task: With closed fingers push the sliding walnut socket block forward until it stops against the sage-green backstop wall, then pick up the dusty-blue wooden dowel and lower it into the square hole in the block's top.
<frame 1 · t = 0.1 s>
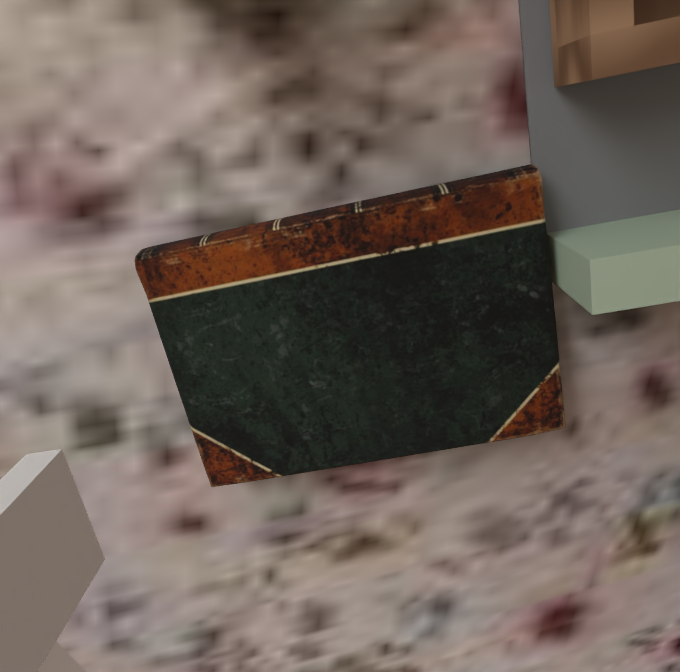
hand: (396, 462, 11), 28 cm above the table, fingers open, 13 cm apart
book: (357, 327, 41), on the table
runner mat: (638, 46, 33), on the table
backstop wall: (641, 238, 37), on the table
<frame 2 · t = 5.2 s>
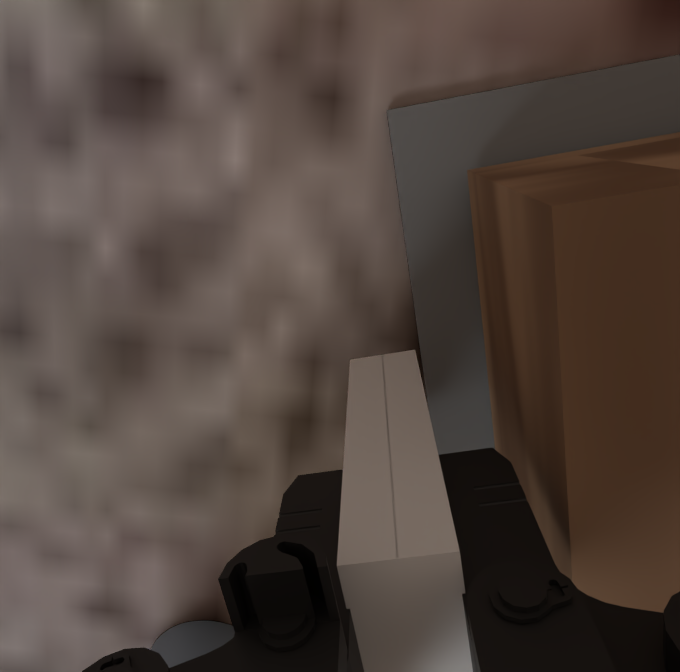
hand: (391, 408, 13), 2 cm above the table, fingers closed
dowel: (210, 668, 19), on the table
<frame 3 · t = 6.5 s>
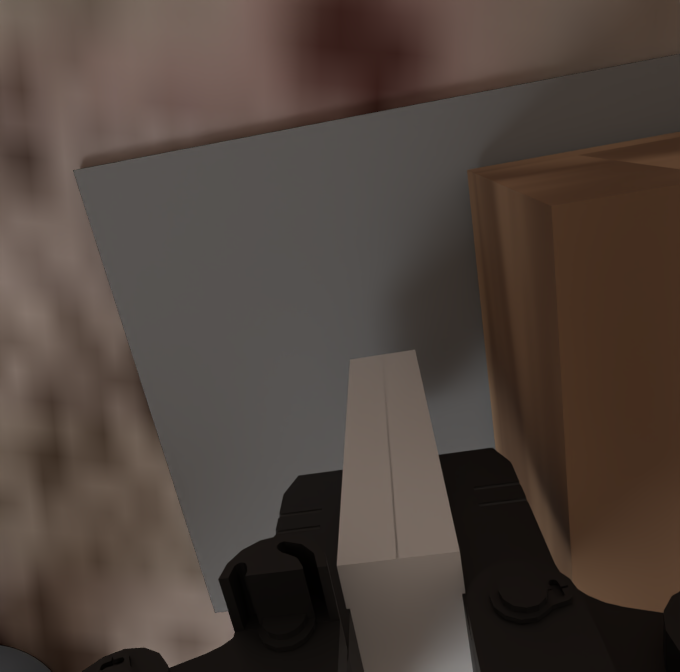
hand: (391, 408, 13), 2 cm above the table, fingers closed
runner mat: (526, 363, 15), on the table
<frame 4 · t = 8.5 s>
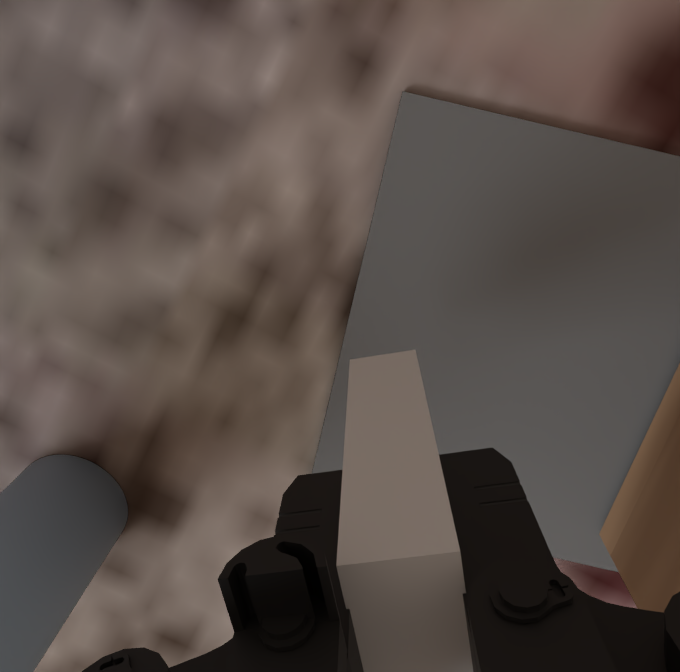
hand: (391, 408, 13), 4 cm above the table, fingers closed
dowel: (72, 503, 21), on the table
runner mat: (662, 393, 18), on the table
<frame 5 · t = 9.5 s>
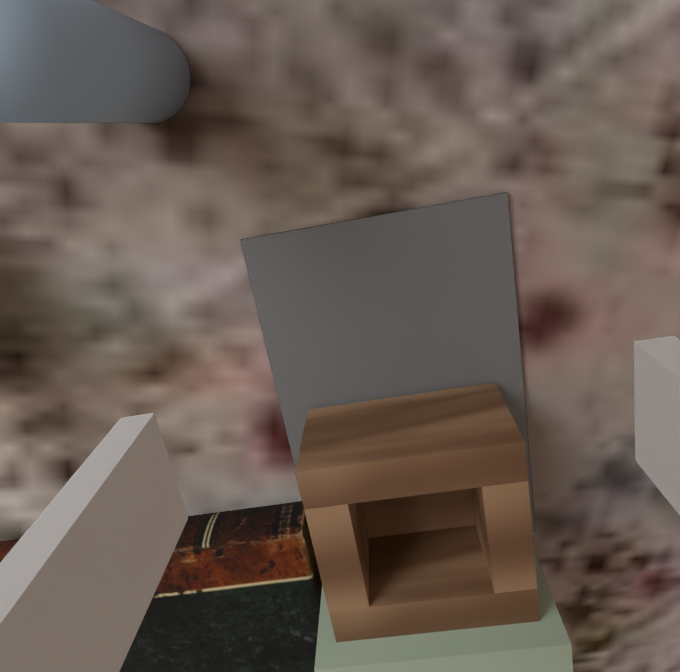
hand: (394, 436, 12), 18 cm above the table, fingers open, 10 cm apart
book: (151, 624, 39), on the table
socket block: (417, 509, 30), point 4 cm above the table, slide at 8.5 cm
dowel: (147, 76, 26), on the table
runner mat: (400, 395, 31), on the table
backstop wall: (427, 561, 35), on the table
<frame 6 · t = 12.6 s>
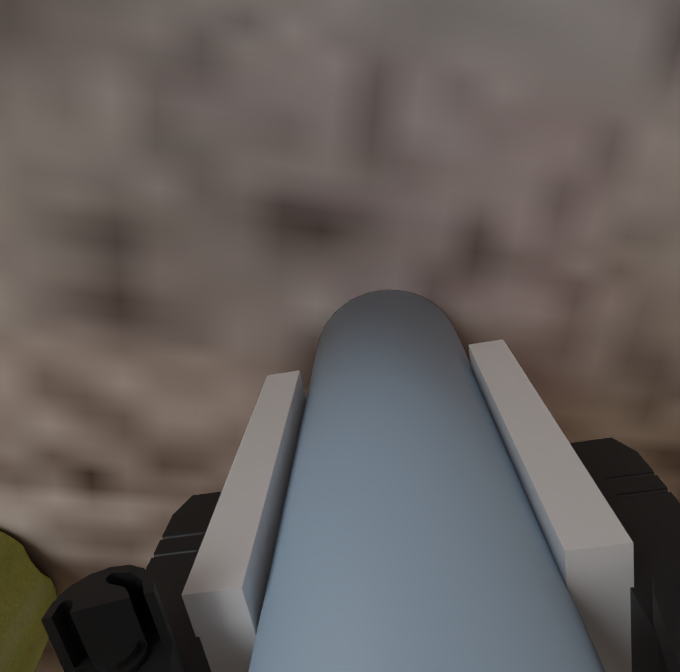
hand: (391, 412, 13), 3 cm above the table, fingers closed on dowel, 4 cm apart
dowel: (388, 359, 16), on the table, touching gripper
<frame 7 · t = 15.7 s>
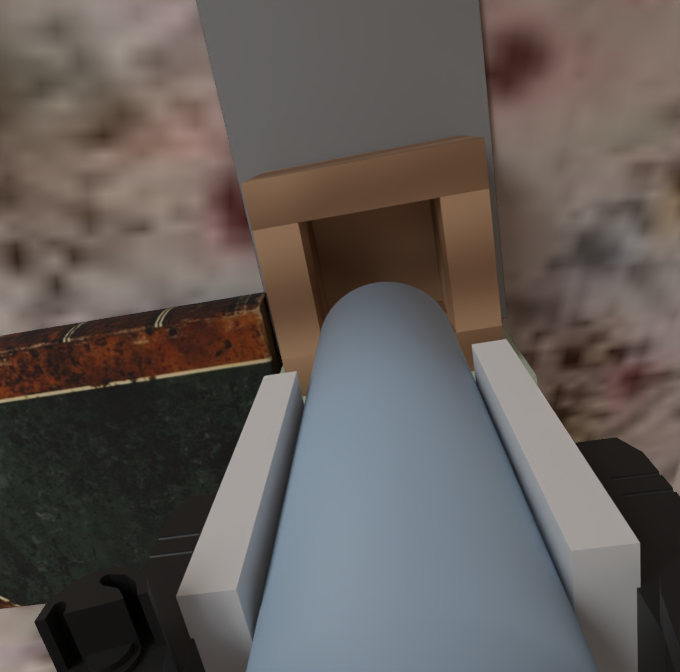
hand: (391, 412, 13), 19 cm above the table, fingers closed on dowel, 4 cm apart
book: (109, 446, 37), on the table
socket block: (377, 263, 28), point 4 cm above the table, slide at 8.5 cm
dowel: (386, 347, 17), point 15 cm above the table, touching gripper
runner mat: (361, 158, 30), on the table
backstop wall: (394, 358, 33), on the table
when the fingers open (8 cm above the table, at t = 17.9 s): dowel drops 2 cm, resting on socket block.
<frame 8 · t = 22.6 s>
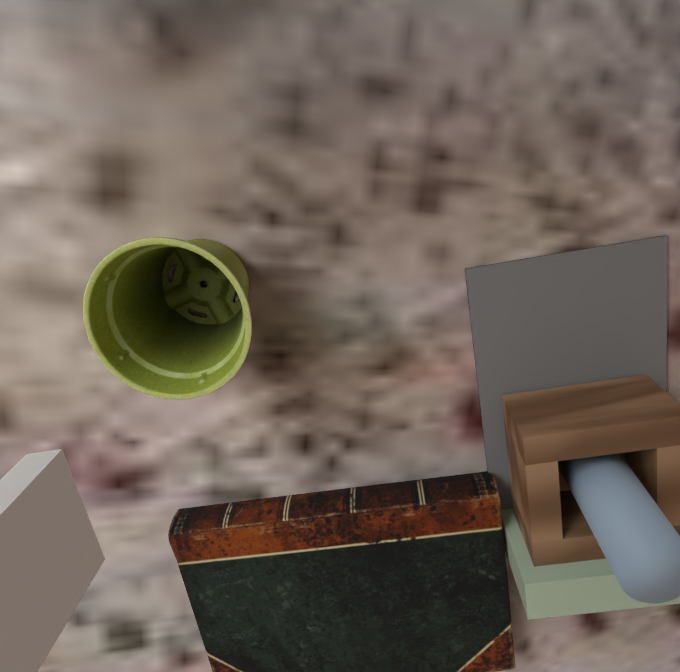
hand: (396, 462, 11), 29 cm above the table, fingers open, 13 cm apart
book: (348, 570, 49), on the table
plant pot: (207, 282, 40), on the table
socket block: (591, 469, 40), point 4 cm above the table, slide at 8.5 cm, touching dowel
dowel: (582, 451, 42), point 2 cm above the table, touching socket block
runner mat: (570, 384, 42), on the table
backstop wall: (577, 514, 45), on the table
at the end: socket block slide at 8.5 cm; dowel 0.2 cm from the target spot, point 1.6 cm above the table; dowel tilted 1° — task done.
